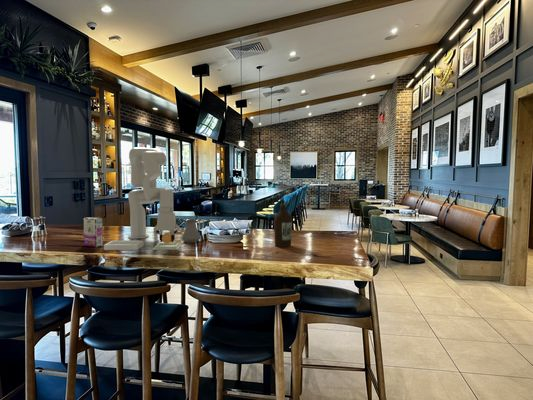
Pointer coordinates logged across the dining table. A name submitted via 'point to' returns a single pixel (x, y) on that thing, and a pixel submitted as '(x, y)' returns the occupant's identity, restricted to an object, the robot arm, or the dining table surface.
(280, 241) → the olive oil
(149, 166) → the robot arm
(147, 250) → the dining table surface
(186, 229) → the coffee pot
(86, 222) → the candy bar box
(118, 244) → the shallow white tray
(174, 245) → the tray
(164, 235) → the ball
